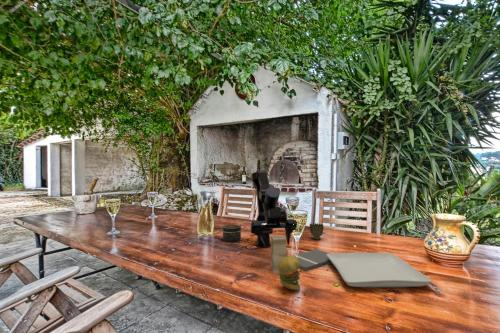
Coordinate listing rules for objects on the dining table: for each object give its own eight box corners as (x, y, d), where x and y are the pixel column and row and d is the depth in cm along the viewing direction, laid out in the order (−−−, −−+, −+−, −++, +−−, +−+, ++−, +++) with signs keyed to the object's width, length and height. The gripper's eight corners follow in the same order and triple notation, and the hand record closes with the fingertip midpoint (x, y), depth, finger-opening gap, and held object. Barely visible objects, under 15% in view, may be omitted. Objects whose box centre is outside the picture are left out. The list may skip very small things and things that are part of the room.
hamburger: (305, 292, 87) (305, 255, 87) (285, 296, 85) (284, 258, 85) (293, 282, 95) (293, 248, 94) (274, 286, 92) (274, 250, 92)
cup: (324, 241, 144) (323, 226, 144) (309, 240, 146) (309, 225, 146) (323, 237, 151) (323, 223, 151) (309, 237, 153) (309, 222, 153)
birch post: (271, 268, 107) (270, 235, 107) (283, 268, 108) (283, 235, 108) (273, 273, 102) (273, 239, 102) (286, 273, 103) (286, 238, 103)
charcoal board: (283, 261, 115) (283, 257, 115) (316, 252, 126) (316, 248, 126) (306, 271, 104) (305, 267, 104) (340, 260, 115) (339, 256, 115)
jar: (244, 240, 148) (244, 226, 148) (228, 244, 142) (228, 229, 142) (235, 236, 156) (234, 223, 156) (219, 239, 150) (219, 226, 150)
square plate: (325, 261, 114) (325, 252, 114) (392, 261, 113) (391, 252, 113) (346, 292, 87) (346, 279, 87) (434, 292, 86) (433, 279, 86)
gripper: (251, 201, 111) (255, 235, 100) (295, 199, 114) (304, 232, 103) (249, 217, 119) (252, 250, 108) (290, 215, 121) (298, 247, 111)
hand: (277, 244), depth 107 cm, fingers open, 9 cm apart
